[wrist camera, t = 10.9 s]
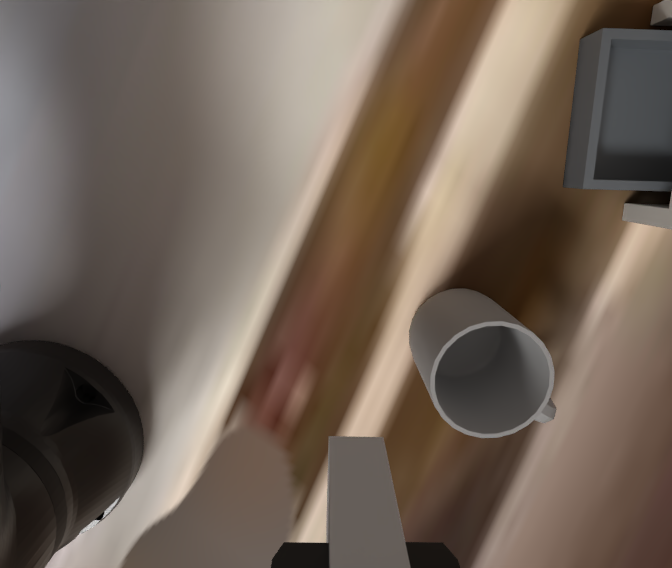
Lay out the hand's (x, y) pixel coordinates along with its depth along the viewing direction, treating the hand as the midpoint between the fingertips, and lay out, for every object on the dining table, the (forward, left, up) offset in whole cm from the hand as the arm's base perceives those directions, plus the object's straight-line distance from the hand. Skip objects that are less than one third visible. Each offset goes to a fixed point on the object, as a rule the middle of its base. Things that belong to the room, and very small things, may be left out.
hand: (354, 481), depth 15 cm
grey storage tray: (+23, +12, -24) cm, 35 cm away
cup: (+10, -4, -25) cm, 27 cm away
